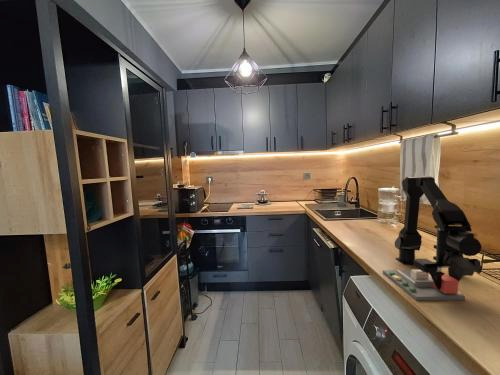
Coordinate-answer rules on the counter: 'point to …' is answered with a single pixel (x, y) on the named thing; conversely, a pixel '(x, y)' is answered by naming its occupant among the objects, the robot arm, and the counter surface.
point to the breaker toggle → (419, 275)
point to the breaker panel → (419, 286)
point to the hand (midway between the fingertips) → (445, 289)
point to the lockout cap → (448, 284)
